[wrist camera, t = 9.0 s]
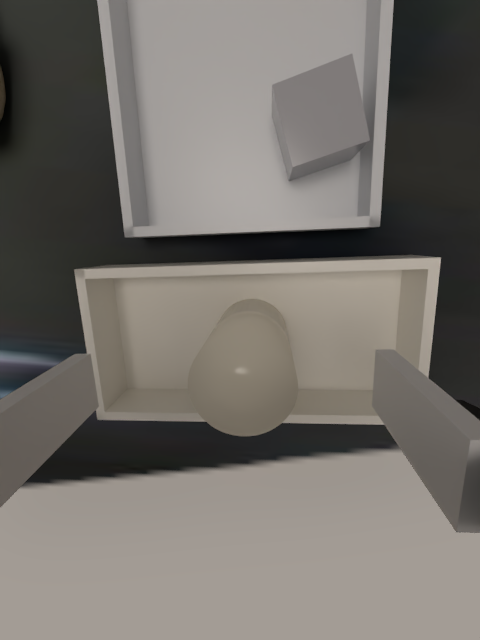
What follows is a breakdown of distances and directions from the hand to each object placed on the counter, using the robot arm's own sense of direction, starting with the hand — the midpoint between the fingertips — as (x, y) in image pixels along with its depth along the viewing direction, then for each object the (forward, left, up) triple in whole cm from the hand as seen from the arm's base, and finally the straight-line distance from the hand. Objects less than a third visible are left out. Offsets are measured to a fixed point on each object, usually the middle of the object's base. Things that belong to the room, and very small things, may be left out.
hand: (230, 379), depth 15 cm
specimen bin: (+1, 0, -9) cm, 9 cm away
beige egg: (0, 0, -9) cm, 9 cm away
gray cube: (+5, +12, -9) cm, 16 cm away
